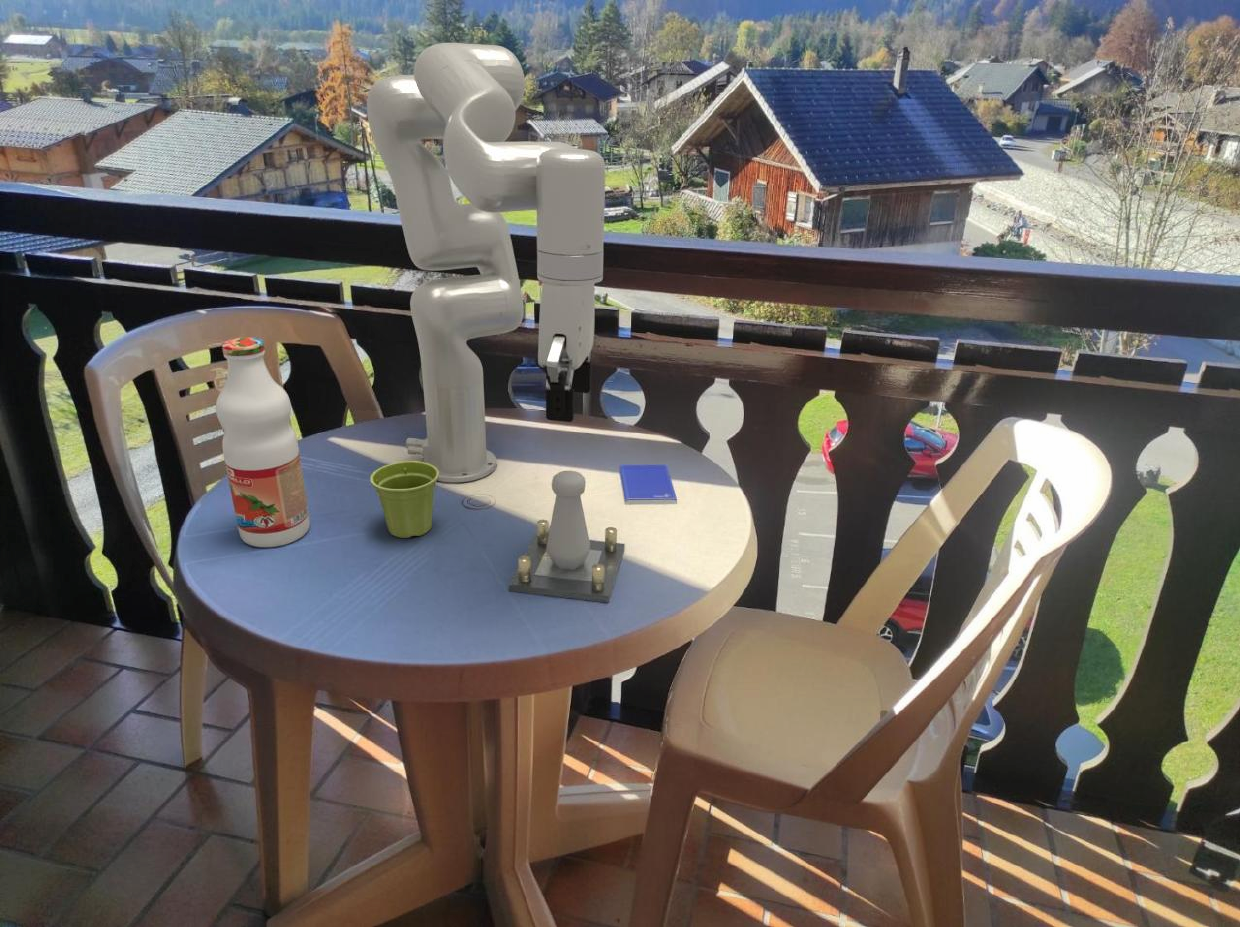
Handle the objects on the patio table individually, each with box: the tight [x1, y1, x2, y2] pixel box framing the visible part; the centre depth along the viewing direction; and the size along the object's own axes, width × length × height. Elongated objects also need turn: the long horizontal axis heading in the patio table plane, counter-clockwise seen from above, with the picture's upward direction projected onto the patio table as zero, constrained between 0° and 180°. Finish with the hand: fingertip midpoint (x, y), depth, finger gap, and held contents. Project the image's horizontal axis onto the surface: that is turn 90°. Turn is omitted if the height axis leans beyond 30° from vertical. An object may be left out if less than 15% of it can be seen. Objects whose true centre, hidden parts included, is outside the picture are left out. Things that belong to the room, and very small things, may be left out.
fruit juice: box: [215, 337, 311, 548], centre depth 109 cm, size 9×9×28 cm
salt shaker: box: [546, 470, 590, 570], centre depth 106 cm, size 6×6×13 cm
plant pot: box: [369, 460, 439, 539], centre depth 116 cm, size 9×9×9 cm
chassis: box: [508, 519, 626, 604], centre depth 108 cm, size 13×13×4 cm
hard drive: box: [618, 464, 678, 506], centre depth 132 cm, size 2×8×12 cm
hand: (569, 405), depth 100 cm, fingers open, 9 cm apart
